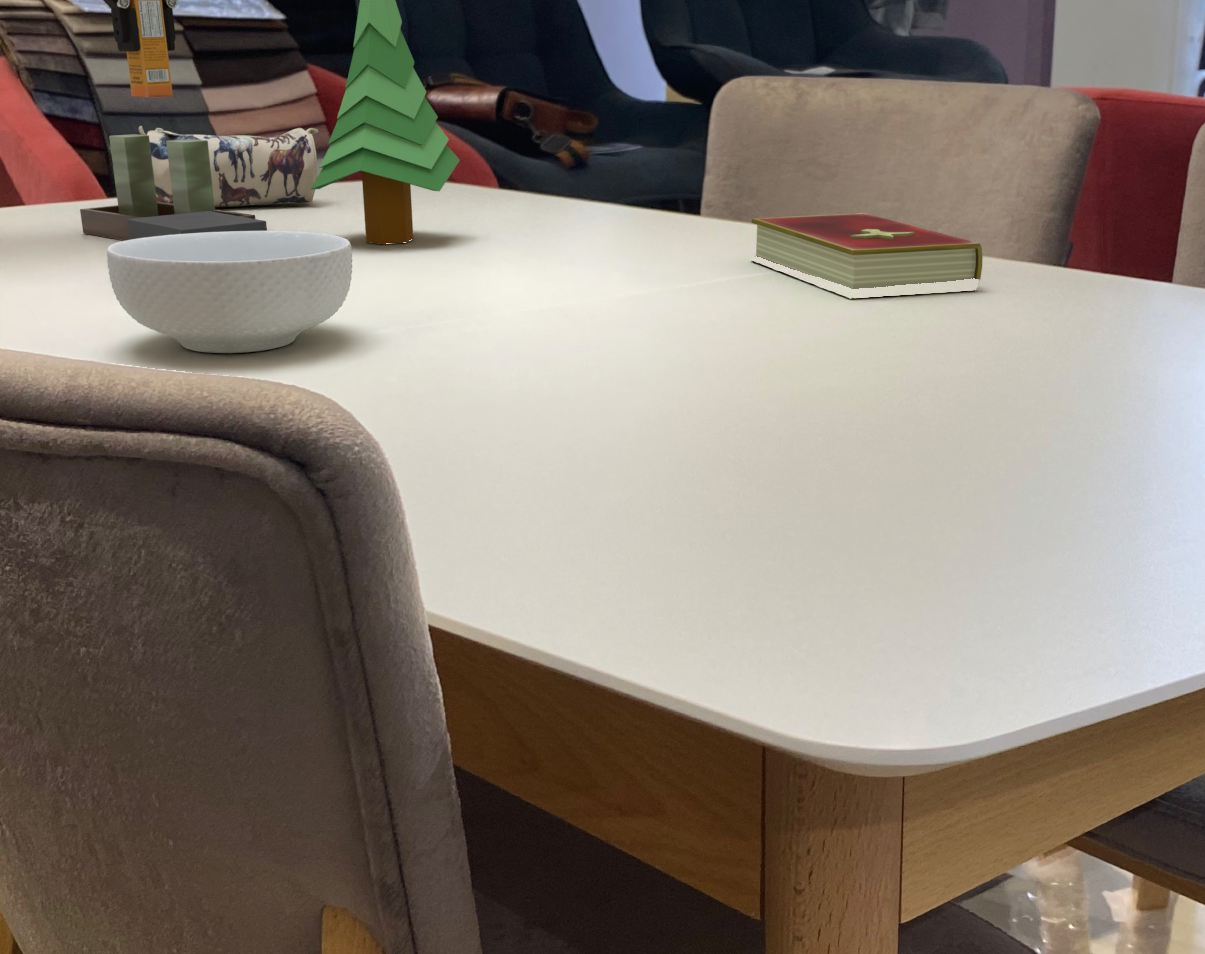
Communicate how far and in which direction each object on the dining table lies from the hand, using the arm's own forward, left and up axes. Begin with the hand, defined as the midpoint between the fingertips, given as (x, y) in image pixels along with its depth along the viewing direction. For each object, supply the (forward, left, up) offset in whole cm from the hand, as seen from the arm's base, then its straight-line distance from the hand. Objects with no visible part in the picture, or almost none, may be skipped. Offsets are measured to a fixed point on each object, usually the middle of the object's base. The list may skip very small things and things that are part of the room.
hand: (146, 49), depth 147 cm
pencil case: (+20, +17, -19) cm, 33 cm away
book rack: (0, 0, -19) cm, 19 cm away
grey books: (-14, -28, -19) cm, 36 cm away
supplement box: (0, 0, -5) cm, 5 cm away
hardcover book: (+26, -70, -19) cm, 77 cm away
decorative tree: (+13, -21, -19) cm, 31 cm away
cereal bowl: (-27, -52, -19) cm, 61 cm away
